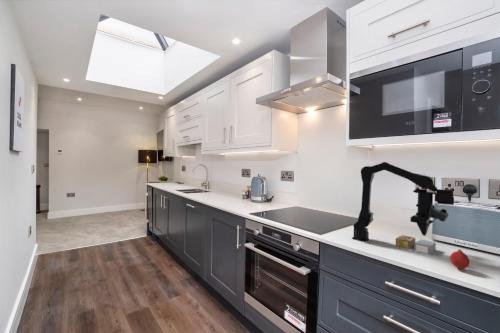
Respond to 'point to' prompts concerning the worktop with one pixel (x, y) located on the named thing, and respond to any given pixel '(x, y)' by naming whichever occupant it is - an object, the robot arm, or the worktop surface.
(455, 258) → the onion
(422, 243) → the grey block
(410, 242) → the walnut block
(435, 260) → the worktop surface
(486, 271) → the worktop surface
